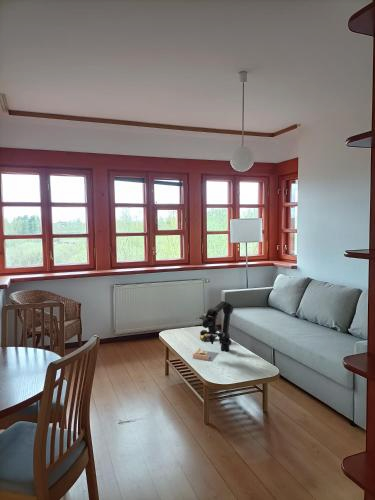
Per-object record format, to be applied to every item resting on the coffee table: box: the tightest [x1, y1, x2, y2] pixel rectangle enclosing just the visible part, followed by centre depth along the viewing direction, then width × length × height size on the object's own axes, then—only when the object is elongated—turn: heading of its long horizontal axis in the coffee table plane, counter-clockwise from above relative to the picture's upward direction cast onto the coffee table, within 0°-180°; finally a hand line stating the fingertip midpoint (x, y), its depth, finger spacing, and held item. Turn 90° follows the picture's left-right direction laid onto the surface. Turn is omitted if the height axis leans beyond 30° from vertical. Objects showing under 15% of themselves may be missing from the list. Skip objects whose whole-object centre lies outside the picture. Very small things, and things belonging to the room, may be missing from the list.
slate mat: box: [193, 350, 220, 362], centre depth 300 cm, size 17×19×1 cm
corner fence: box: [192, 347, 209, 361], centre depth 299 cm, size 14×15×3 cm
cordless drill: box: [195, 313, 218, 342], centre depth 339 cm, size 9×20×25 cm, turn 111°
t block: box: [194, 349, 208, 356], centre depth 297 cm, size 9×8×4 cm
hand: (212, 344), depth 294 cm, fingers closed
